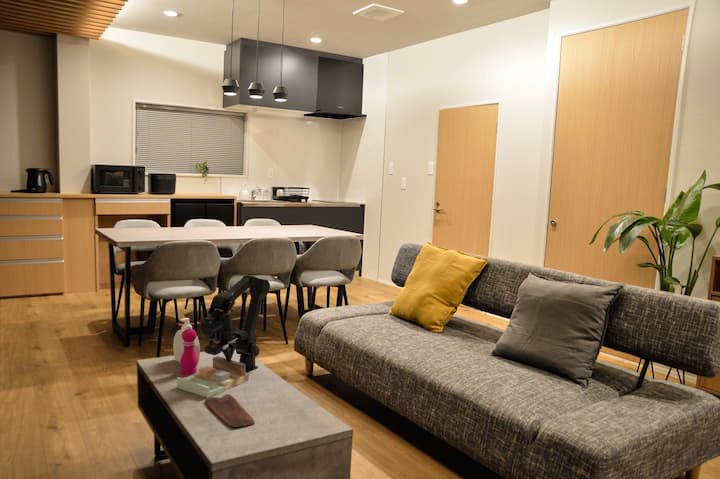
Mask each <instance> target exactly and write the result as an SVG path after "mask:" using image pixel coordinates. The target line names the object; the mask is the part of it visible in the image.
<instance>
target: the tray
mask: <svg viewBox="0 0 720 479" xmlns="http://www.w3.org/2000/svg"><path fill="white" fill-rule="evenodd" d="M176 388H177V389H180V390H183V391H186V392H189V393H191V394H195V395H197V396H199V397H203V398H205V399H207V398H212V397H215V396H217V395H219V394H221V393H224V392H225V391H224V387H223V386H220V385H217V384H214V383H211V382H208V381H205V380H202V379H198V378H195V377H194V376H191V377H188V378H186V379H185V378H183V377H181V376H180V377H179V376H178V377H176Z"/></svg>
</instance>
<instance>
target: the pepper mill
mask: <svg viewBox="0 0 720 479" xmlns="http://www.w3.org/2000/svg"><path fill="white" fill-rule="evenodd" d="M191 326H192V325H191ZM191 326H188V327H187V329H186V330H184V331H183V333H182V339H183V340H184V341H183V345H184V352H183V355H182V357H181V359H180V363H179V365H180V367H181V368H180V374H182V375H183V376H190V375H191V376H192V375H195V374H197V372H198V371H197V370H198V368H197V366H198V365H197V364H199V362H198V359H197V356H196V354H195V351H194V345H195V339H196V337H198V333H197V331H196V330H195V329H193V326H192V327H191ZM191 328H192V329H191Z"/></svg>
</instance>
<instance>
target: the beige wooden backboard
mask: <svg viewBox="0 0 720 479" xmlns="http://www.w3.org/2000/svg"><path fill="white" fill-rule="evenodd" d="M218 371H221V370H217V369H215V373H216V372H218ZM193 377H195V378H198V379H202V380H205V381H208V382H211V383H214V384H217V385H220V386H223V387H224V392H225V391H227V390H229V388H230V389H232V388H234V387H237V386H238V385H239V386H240V385H241V384H243V382H244V383H246V382H248V381H249V373H247V372H245V375H244V376H242V377H240V376H237V375H234V374H230V379H228V380H226V381H223V382H219V381H216V380H213V376H210V377H207V378H206V377H203V376H200V375H199V372H198V373H195V374H193ZM236 385H237V386H236Z"/></svg>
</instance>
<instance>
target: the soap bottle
mask: <svg viewBox="0 0 720 479" xmlns="http://www.w3.org/2000/svg"><path fill="white" fill-rule="evenodd" d="M180 322H184V324H183V325H182V326H181V329H179V330H177V331H176V333H175V334H174V338H173V342H172V343H173V344H172V345H173V346H172V348H173V355H174V361H175V362H178V363H179V364H180V359H181V357H182V355H183V352H184V345H183V341H184V340H183V339H182V333H183V331H184V330H186V329H187V327H188V326H191V327H192V328H191V329H193V326H192V325H191V324H190V318H189V317H183V318H180ZM194 351H195V354H196V356H197V359H198V364H199V363H200V362H199V361H200V357H201V347H200V340H199V337H198V336H197V337H196V339H195V345H194ZM198 364H197V365H196V366H198Z"/></svg>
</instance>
